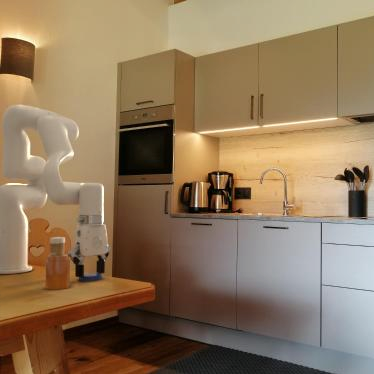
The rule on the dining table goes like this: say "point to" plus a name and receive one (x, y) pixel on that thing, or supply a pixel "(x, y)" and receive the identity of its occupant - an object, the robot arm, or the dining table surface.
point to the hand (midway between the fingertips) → (90, 274)
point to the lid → (91, 277)
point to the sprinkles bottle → (57, 245)
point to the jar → (57, 271)
